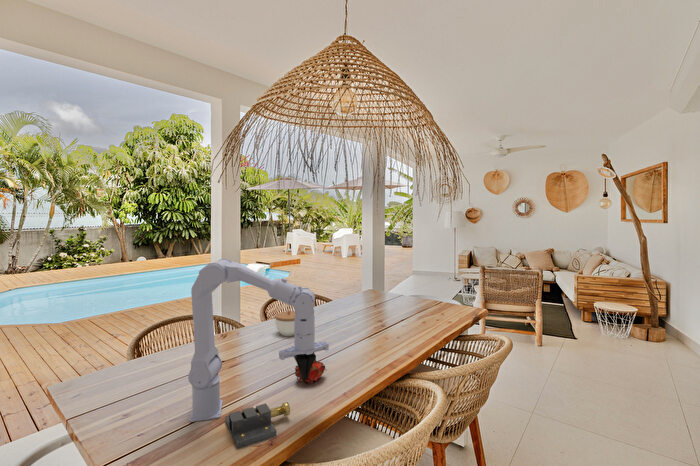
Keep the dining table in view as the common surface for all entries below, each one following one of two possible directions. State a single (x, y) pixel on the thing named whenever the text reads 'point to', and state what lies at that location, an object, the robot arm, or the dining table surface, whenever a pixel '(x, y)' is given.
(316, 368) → the dragon fruit
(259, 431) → the hinge leaves
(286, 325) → the lidded bowl
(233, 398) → the dining table surface
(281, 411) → the pin
